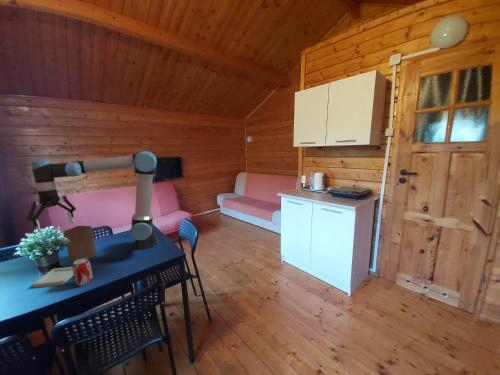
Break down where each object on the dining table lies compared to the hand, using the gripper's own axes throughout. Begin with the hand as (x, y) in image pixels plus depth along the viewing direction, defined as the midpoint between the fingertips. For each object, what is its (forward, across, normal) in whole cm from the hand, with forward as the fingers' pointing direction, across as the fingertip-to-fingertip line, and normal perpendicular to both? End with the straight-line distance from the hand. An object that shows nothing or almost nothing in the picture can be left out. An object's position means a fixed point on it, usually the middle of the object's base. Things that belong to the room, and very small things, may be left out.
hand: (56, 227), depth 118 cm
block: (+25, -10, -4) cm, 28 cm away
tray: (+25, +6, +8) cm, 27 cm away
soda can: (+25, 0, +25) cm, 36 cm away
